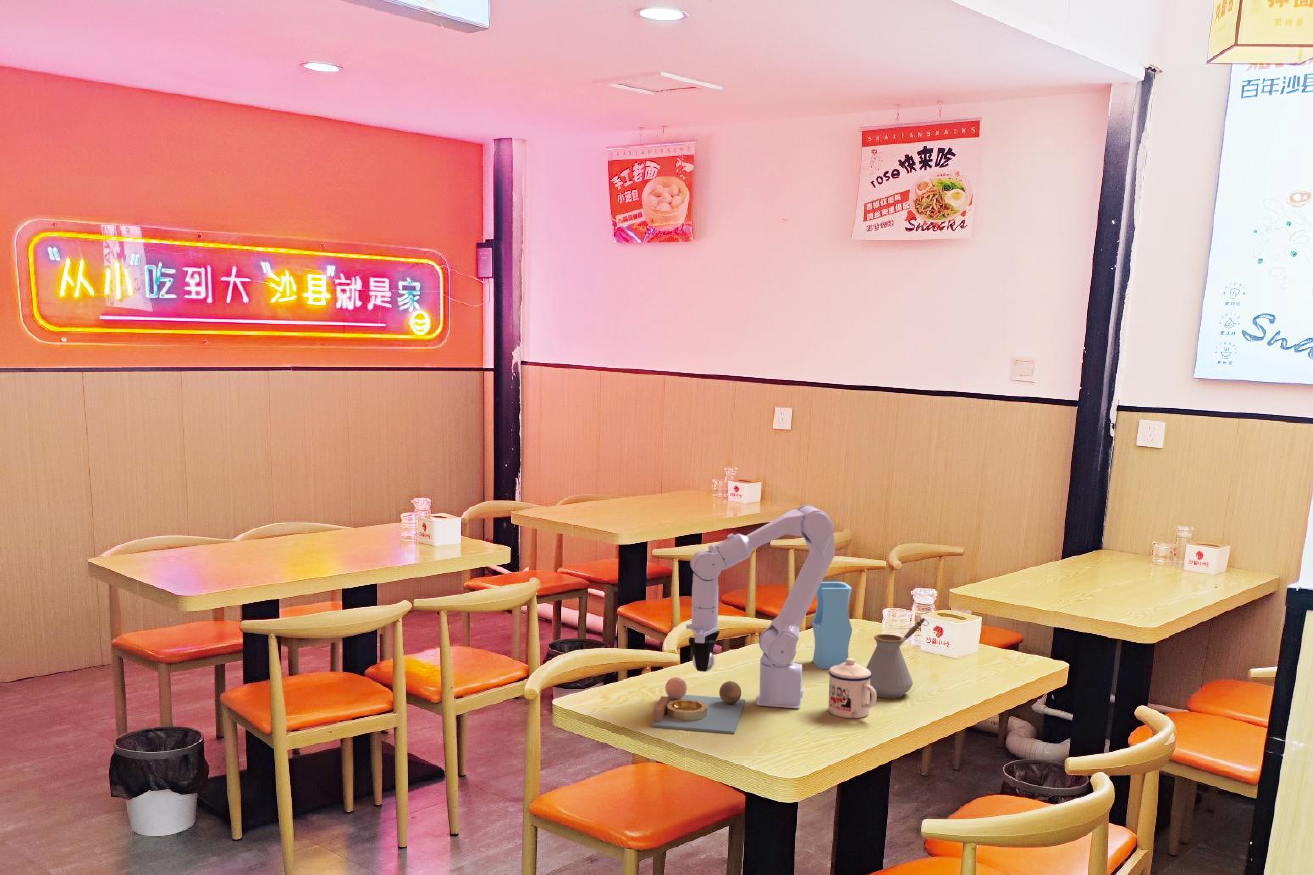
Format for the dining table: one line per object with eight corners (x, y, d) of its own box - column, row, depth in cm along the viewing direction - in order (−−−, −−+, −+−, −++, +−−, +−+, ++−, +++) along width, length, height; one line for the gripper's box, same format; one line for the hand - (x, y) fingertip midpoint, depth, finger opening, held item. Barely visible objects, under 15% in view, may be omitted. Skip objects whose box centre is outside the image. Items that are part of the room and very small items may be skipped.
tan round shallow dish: (712, 711, 228) (712, 702, 228) (697, 723, 221) (697, 714, 220) (676, 705, 232) (676, 697, 232) (660, 716, 224) (660, 708, 224)
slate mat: (745, 701, 237) (745, 688, 236) (734, 733, 216) (734, 719, 216) (669, 695, 240) (669, 682, 240) (651, 726, 219) (651, 712, 219)
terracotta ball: (688, 696, 238) (688, 675, 238) (684, 703, 233) (685, 681, 233) (666, 694, 239) (667, 673, 238) (663, 701, 234) (663, 679, 234)
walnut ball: (742, 700, 236) (742, 679, 235) (739, 707, 231) (740, 685, 231) (720, 698, 237) (721, 677, 236) (717, 705, 232) (718, 684, 231)
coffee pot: (894, 704, 237) (896, 637, 236) (850, 692, 245) (853, 627, 244) (944, 684, 252) (947, 622, 251) (902, 674, 260) (904, 613, 259)
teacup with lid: (818, 710, 232) (820, 657, 231) (848, 702, 237) (849, 651, 236) (859, 726, 222) (861, 670, 221) (889, 718, 228) (891, 664, 227)
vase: (811, 659, 271) (813, 581, 269) (841, 659, 271) (844, 581, 270) (819, 669, 263) (821, 588, 261) (850, 668, 264) (853, 588, 262)
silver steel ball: (715, 669, 236) (716, 647, 236) (712, 675, 232) (713, 653, 231) (694, 667, 237) (694, 646, 237) (690, 673, 232) (691, 651, 232)
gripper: (692, 597, 241) (690, 656, 242) (681, 612, 227) (680, 675, 228) (723, 599, 240) (721, 659, 241) (714, 614, 226) (712, 677, 227)
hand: (703, 667), depth 234 cm, fingers closed on silver steel ball, 5 cm apart
